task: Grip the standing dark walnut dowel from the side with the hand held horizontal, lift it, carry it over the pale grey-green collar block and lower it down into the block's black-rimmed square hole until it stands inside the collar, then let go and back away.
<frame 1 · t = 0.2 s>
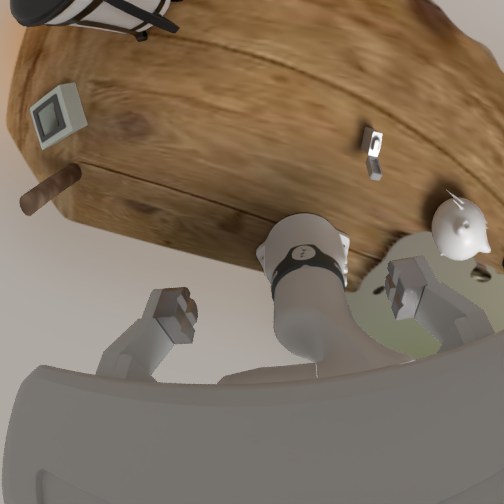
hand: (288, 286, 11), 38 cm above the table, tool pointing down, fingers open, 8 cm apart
collar block: (64, 113, 41), on the table
coffee press: (150, 8, 30), on the table
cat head: (444, 215, 48), on the table
dowel: (74, 172, 48), on the table
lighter: (365, 146, 43), on the table
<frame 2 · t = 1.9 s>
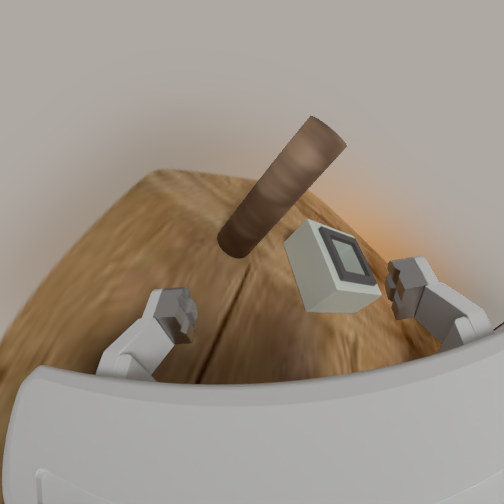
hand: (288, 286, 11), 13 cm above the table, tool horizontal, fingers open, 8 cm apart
collar block: (320, 279, 36), on the table
dowel: (233, 243, 31), on the table
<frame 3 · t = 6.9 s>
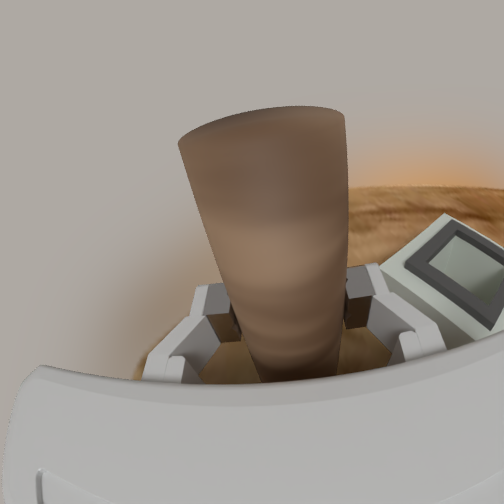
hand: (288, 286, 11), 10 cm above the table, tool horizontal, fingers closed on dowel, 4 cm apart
collar block: (449, 314, 17), on the table
dowel: (301, 396, 16), on the table, touching gripper
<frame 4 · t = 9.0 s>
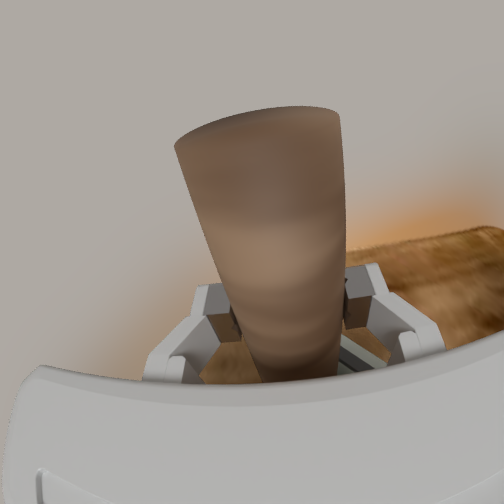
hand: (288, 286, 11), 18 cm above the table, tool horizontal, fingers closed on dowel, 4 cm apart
collar block: (329, 414, 21), on the table
dowel: (302, 396, 16), point 8 cm above the table, touching gripper
when the fingers open (11 cm above the table, at t = 11.3 s): dowel drops 1 cm, resting in collar block.
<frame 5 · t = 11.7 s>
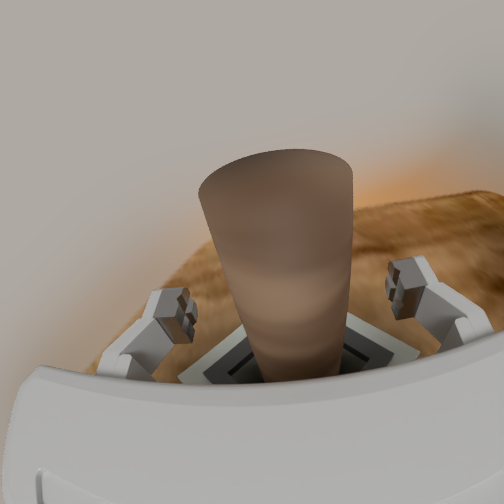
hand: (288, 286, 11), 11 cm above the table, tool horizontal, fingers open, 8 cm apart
collar block: (302, 402, 17), on the table
dowel: (304, 402, 17), resting in collar block
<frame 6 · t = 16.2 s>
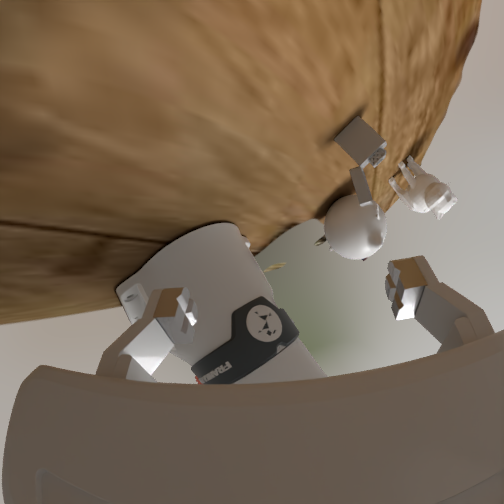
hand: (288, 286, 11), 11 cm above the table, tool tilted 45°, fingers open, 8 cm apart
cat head: (333, 203, 52), on the table
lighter: (337, 137, 29), on the table
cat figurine: (400, 166, 63), on the table
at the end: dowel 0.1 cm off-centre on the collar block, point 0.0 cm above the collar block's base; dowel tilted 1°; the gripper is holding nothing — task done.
